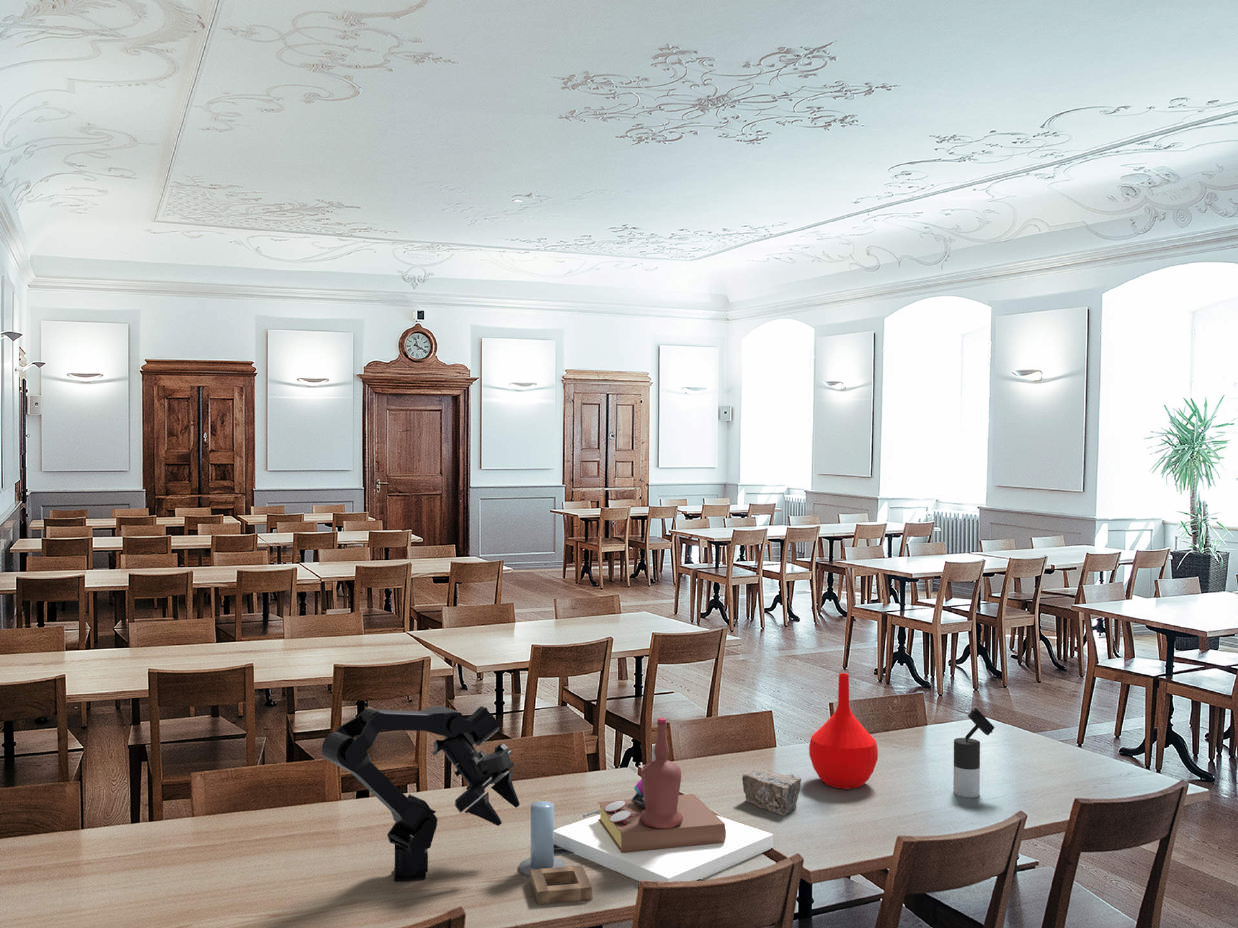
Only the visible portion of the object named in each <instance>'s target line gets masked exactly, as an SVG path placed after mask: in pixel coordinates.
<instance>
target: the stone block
mask: <svg viewBox="0 0 1238 928" xmlns="http://www.w3.org/2000/svg"><path fill="white" fill-rule="evenodd" d="M741 779H742V788H743V794H745V796H744V798H745V801H746V802H749V803H751V804H753V805H754V806H756V807H758V808H761V809H765V808H766V809H765V810H768V811H769V812H771V813H776V814H777V815H780V816H786V815H787V814H789V813H791V812H792V811H795V810H796V809H797V802H798V799H799V795H800V792H801V791H800V790H801V783H802V778H801V777H800V776H799V775H793V774H782V773H781V774H780V773H778V772H774V771H772V770H766V769H762V768H758V767H757V768H754V769H752V770H750V771H748V772H746V773H743V775H742V777H741Z"/></svg>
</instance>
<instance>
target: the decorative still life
mask: <svg viewBox="0 0 1238 928" xmlns="http://www.w3.org/2000/svg"><path fill="white" fill-rule="evenodd" d="M656 719H657V720H656V721H657V722H656V725H657V739H656V742H655V744H653V745H652V749H651V759H650V760H648V761H647V762H646V763H645V764H643V766H642V767H641V769H640V772H641V777H640V778H641V779H640V780H639V781H638V782H637V783H636V784H635V786H634V787H633V788H634V791H636V793H634V796H633V797H632V798H630V799H618V800H617V799H616V800H609V801H607V800H605V801H598V802H597V803H598V805H599V806H600V809H597V810H594V811H590V812H589V811H588V812H586V813H582V817H583V818H585V819H581V820H579V821H576V822H573V823H571V824H570V823H569V824H568V825H564V826H561V827H558V829H556V828H554V829H555V830H554V844H555V845H557V846H559V847H561V848H564V849H566V850H568V851H571V852H574V854H575V855H576V856H577V855H578V857H579V856H580V857H581V858H584V859H586V860H588V861H591V862H593V863H595V864H598V865H601V866H603V867H605V868H607V869H610V870H611V871H615V872H617V873H619V874H622V875H624V876H626V877H629V878H631V879H633V880H636V881H638V882H640V881H641V880H651V881H668V882H673V881H692V880H697V879H701V880H703V879H705V878H707V877H710V876H712V875H714V874H716V873H720V872H721V871H724V870H726V869H727V868H728V869H729V868H731V867H733V866H735V865H737V864H740V863H741V862H744V861H746V860H749V859H751V858H754V857H756V856H758V855H760V854H762V853H765V852H767V851H769V850H771V848H772V849H773V848H774V834H773V833H771V832H768V831H764V830H761V829H759V828H756V827H752V826H749V825H746V824H744V823H740V822H737V821H734V820H731V819H729V818H725V817H722V816H719V815H717V814H715V813H714V812H713V811H712V810H711V809H710V808H709V807H708V806H707V805H706V804H705V803H704V802H703V801H702V800H701V799H699V797H697V795H696V794H694V793H688V794H680V790H681V783H682V770H681V768H680V766H678V764H676V763H674V762H673V761H671V760H668V756H669V753H670V748H669V744H668V741H667V733H666V732H667V718H666V717H658V718H656ZM592 815H593V816H592ZM588 816H589V817H588ZM590 816H591V817H590ZM586 817H587V818H586Z"/></svg>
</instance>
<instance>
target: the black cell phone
mask: <svg viewBox="0 0 1238 928" xmlns="http://www.w3.org/2000/svg"><path fill="white" fill-rule="evenodd" d="M558 828H559V827H558ZM558 828H554V830H555V829H558ZM572 854H574V852H571V851H568V850H566V849H564V848H561V847H559V846H557V845H555V844H554V857H556V856H565V855H572Z"/></svg>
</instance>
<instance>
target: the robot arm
mask: <svg viewBox="0 0 1238 928" xmlns="http://www.w3.org/2000/svg"><path fill="white" fill-rule="evenodd" d="M499 730H500V724H499V721H498V720H497V719H496V718H495V716H494V715H493V714H492V713H491V712H490V711H489V710H488V708H487V707H484V706H482V705H480V706H479V707H478V708H476V710H475V711H474V712H473V713H472V714H470V715H469V716H468V717H467V718H464V716H463V713H462V712H461V711H458V710H455V709H451V708H449V707H445V706H441V705H440V706H434V707H433V706H432V707H428V708H426V709H424V710H417V711H416V710H398V709H397V710H395V709H394V710H392V709H375V708H372V707H369V708H366V709H364V710H363V711H362V712H360V713H359V714H358V715H357V716H356V717H354V718H353V719H352V718H351V720H349V721H347V722H345V723H344V724H341V725H340V726H339V727H338V728H337V729H336V730H335V731H334V732H332V733H329V734H328V735H327V736H326V737H325V738H324V740H323V742H322V744H321V745H322V746H321V755H322V756H323V757H324V759H326V760H327V761H330V762H331V763H333V764H335V765H336V766H338V767H340V768H341V769H343V770H345V771H347V772H349V773H350V774H351V775H353V776H354V778H356V779H357V780H358V781H359V782H360V783H361V784H363V786H365V788H366V789H367V790H368V791H369V792H371V793H372V795H374V796H375V798H377V799H378V801H380V802H381V803H382V804H383V805H384V806H385V807H386V808H387V809H388V810H389V811H390V812H391V814H392V819H393V820H394V822H395V823H394V824H393V826H392V827H391V828H390V830H388V832H387V835H386V836H387V838H388V842H389V843H390V844H393V845H394V867H393V881H394V882H401V881H402V882H403V881H414V880H425V879H426V878H427V877H426V876H427V873H428V872H429V851H428V849H430V848H431V846H432V842H433V839H434V836H435V833H436V829H437V826H438V821H439V820H438V816H436V812H437V811H436V809H435V810H434V809H432V808H430V805H429V804H428V803H427V801H425V800H423V799H422V798H419V797H416V796H414V795H412V794H410V793H409V794H408V795H406V794H405V793H404V792H402V791H401V790H400V789H399V787H397V786H396V785H395V784H394V783H393V781H391V780H390V779H389V778H388V777H387V776H386V775H385V774H384V773H383V771H381V770H380V769H379V768H378V767H377V766H376V765H375V764H374V763H373V762H372V761H371V758H370V755H369V751H368V750H369V749H370V748H371V747H372V746H373V744H374V742H375V740H376V738H377V736H378V734H379V733H380V732H381V731H408V732H409V731H412V732H413V731H415V732H416V731H417V732H428V733H431V734H435V735H439V736H442V737H444V738H443V739H435V741H433V751H432V755H433V756H436V755H438V754H439V753H440V752H441V751H442V752H443V753H444V755H445V756H446V757H447V759H448V760H449V762H451V764H452V765H453V766H454V767H455V769H456V771H455V772H454V775H455V776H456V777H459V776H461V777H462V778H463V779H464V781H465V783H467V785H468V786H467V787H466V788H465V791H464V792H463V793H462V794H460V796H459V797H457V798H456V799H455V800H454V802H455V803H454V806H455V808H456V809H457V811H459V813H460V814H462V812H463V811H464V813H465V814H471V815H473V816H476V817H478V818H481V819H483V820H485V821H487V822H489V823H491V824H492V825H495V826H497V827H499V826H501V825H502V820H501V818H500V817H499V815H498V813H497V811H496V810H495V809H494V807H493V806H492V804H491V803H490V800H489V799H490V798H489V792H488V791H487V792H486V788H487V787H488V786H490V785H492V784H493V785H492V786H490V788H491V789H492V790H493V791H494V792H496V793H497V794H498V795H499V796H500V797H501V798H503V799H504V800H505V801H506V802H508V803H509V804H511V806H513V807H514V808H516V809H517V808H519V806H520V805H521V804H520V801H519V798H518V795H517V792H516V790H515V787H514V784H513V773H514V770H515V769H514V768H513V767H515V763H514V761H512V759H511V755H512V754H513V753H512V750H510V748H509V747H508V746H507V745H506V744H505V743H500V744H497V746H496V747H494V751H493V752H492V753H490V754H486V752H485V751H483V750H482V749H481V750H480V751H478V750H477V749H476V748H475V746H481V745H483V744H484V743H485V742H486V741H487V740H488V739H490V737H492V736H493V735H495V734H496V733H497V732H498V731H499ZM356 736H357V737H356ZM474 745H475V746H474ZM484 793H485V794H484Z"/></svg>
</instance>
